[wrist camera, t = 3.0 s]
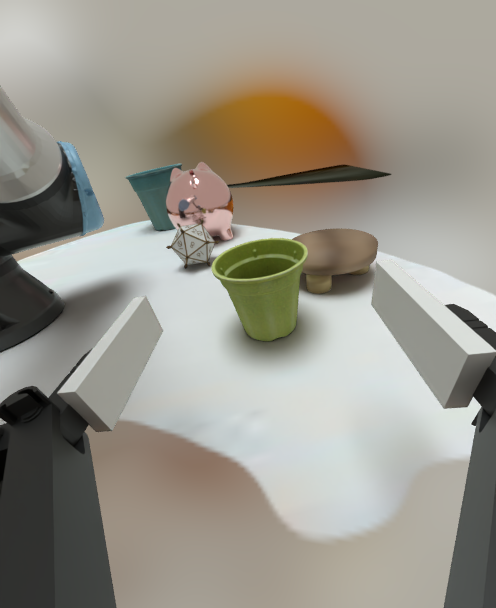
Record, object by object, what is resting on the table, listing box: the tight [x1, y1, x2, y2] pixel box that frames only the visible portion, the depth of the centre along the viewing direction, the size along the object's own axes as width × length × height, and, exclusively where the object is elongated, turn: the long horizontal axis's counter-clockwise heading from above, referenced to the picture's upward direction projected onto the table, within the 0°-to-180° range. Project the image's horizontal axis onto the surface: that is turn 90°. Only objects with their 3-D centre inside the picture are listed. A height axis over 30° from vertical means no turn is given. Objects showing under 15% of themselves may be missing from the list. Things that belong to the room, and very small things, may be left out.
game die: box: [166, 219, 219, 268], centre depth 45 cm, size 9×8×10 cm
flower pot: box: [126, 164, 182, 231], centre depth 74 cm, size 16×16×16 cm
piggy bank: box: [165, 162, 234, 241], centre depth 56 cm, size 15×18×16 cm
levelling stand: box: [292, 229, 378, 294], centre depth 34 cm, size 12×12×4 cm
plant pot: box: [212, 238, 308, 341], centre depth 25 cm, size 9×9×9 cm
